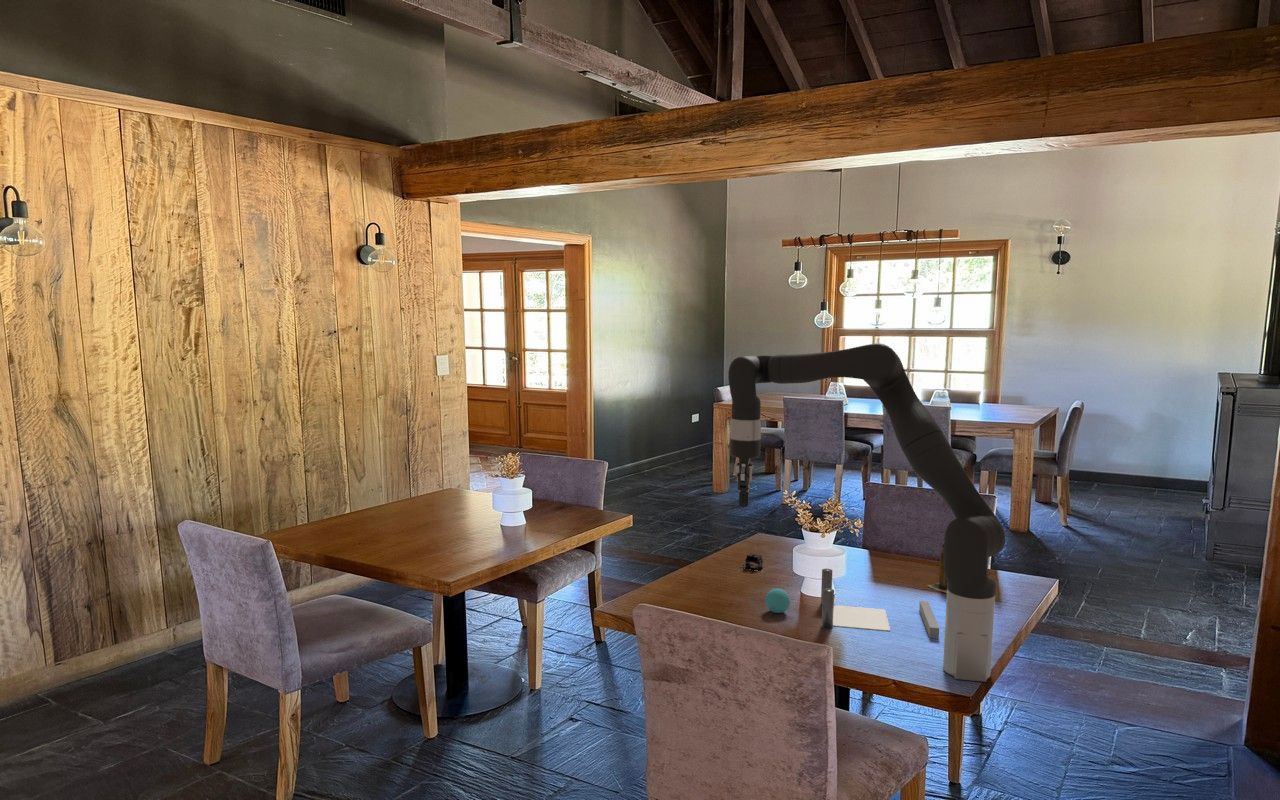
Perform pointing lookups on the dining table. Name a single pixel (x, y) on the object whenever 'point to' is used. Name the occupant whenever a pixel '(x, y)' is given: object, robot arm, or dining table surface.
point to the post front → (827, 608)
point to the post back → (826, 581)
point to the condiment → (941, 576)
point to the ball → (777, 600)
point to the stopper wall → (929, 619)
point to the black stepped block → (755, 559)
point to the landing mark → (860, 618)
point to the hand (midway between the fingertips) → (743, 505)
